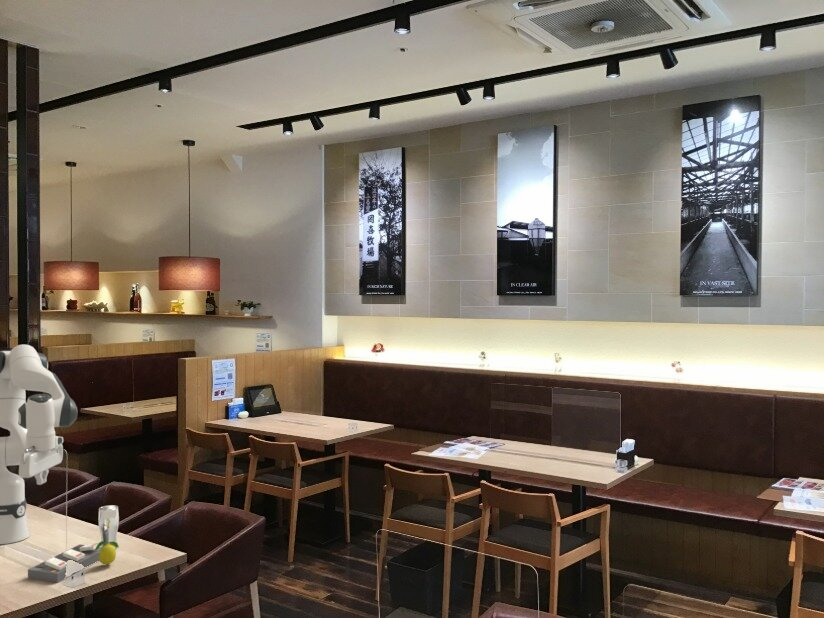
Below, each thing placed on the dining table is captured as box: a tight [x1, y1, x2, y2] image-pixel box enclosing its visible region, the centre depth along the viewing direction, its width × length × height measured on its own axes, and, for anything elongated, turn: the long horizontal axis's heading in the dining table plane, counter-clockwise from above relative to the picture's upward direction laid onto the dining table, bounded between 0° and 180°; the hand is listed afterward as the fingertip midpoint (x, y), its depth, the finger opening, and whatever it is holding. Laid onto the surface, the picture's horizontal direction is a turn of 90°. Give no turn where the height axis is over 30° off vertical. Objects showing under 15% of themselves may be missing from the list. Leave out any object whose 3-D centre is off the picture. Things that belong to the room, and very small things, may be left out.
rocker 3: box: [80, 542, 100, 551], centre depth 262 cm, size 6×4×1 cm, turn 73°
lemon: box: [95, 537, 119, 566], centre depth 256 cm, size 7×6×10 cm
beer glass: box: [97, 504, 120, 550], centre depth 272 cm, size 7×7×15 cm
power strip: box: [27, 544, 102, 584], centre depth 255 cm, size 12×24×3 cm, turn 163°
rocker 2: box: [62, 548, 85, 561], centre depth 254 cm, size 6×4×1 cm, turn 74°
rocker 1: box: [45, 556, 68, 570], centre depth 246 cm, size 6×4×1 cm, turn 74°
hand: (41, 483), depth 249 cm, fingers closed
